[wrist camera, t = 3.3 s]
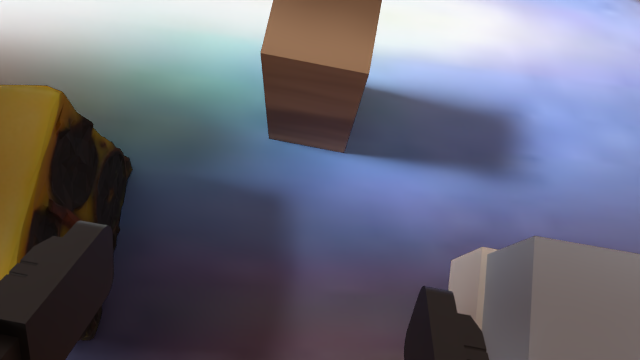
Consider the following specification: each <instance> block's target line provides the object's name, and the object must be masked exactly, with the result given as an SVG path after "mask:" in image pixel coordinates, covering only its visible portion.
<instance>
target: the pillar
mask: <svg viewBox="0 0 640 360" xmlns="http://www.w3.org/2000/svg"><path fill="white" fill-rule="evenodd" d="M381 2H382V0H273V4H272V8H271V12H270V16H269V20H268V24H267V29H266V33H265V37H264V41H263V45H262V49H261V62H262V72H263V83H264V93H265V103H266V113H267V124H268V134H269V139H274V140H279V141H285V142H290V143H295V144H300V145H305V146H310V147H316V148H321V149H326V150H331V151H336V152H341V153H344V151H345V148H346V145H347V142H348V139H349V136H350V132H351V129H352V126H353V123H354V120H355V117H356V113H357V110H358V107H359V104H360V101H361V97H362V94H363V91H364V88H365V85H366V82H367V78H368V75H369V71H370V65H371V59H372V53H373V48H374V42H375V36H376V31H377V25H378V19H379V13H380V8H381Z"/></svg>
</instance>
